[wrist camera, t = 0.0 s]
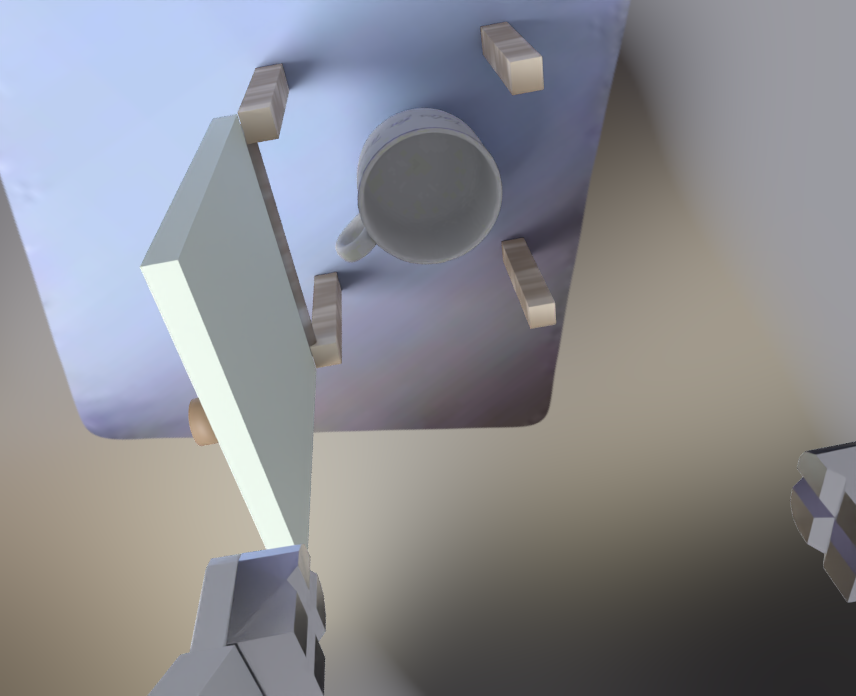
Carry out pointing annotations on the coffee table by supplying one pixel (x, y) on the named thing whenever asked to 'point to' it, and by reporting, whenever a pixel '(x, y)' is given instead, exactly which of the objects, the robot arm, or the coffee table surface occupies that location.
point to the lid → (238, 332)
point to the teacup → (422, 190)
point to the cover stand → (324, 333)
